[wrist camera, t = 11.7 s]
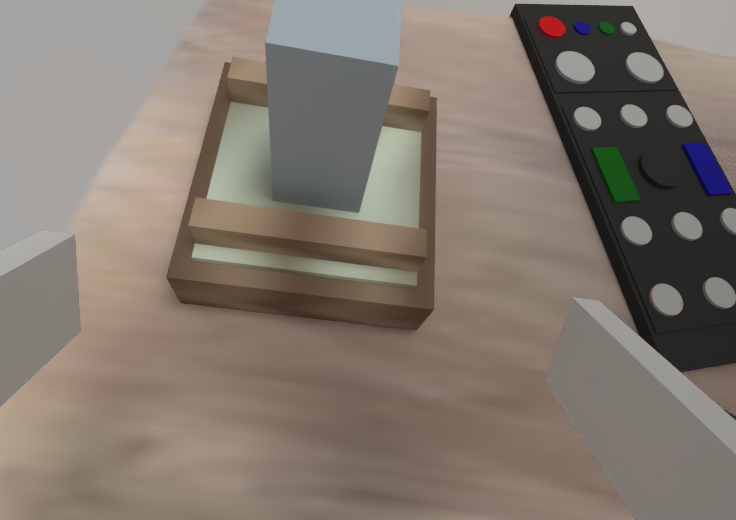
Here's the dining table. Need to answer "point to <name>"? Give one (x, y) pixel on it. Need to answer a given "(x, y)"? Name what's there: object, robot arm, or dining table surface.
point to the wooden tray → (309, 219)
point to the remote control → (641, 175)
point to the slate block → (328, 96)
